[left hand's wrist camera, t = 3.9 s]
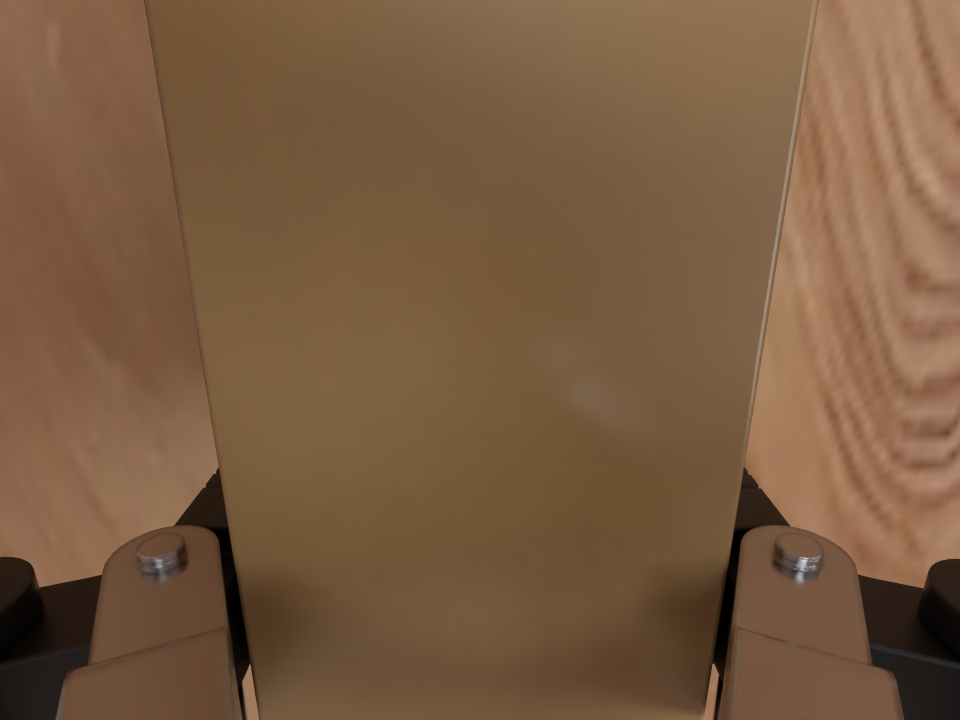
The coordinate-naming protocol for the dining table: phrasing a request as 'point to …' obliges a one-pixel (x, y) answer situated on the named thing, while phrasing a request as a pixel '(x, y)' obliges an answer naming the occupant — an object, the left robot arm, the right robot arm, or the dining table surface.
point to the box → (481, 335)
